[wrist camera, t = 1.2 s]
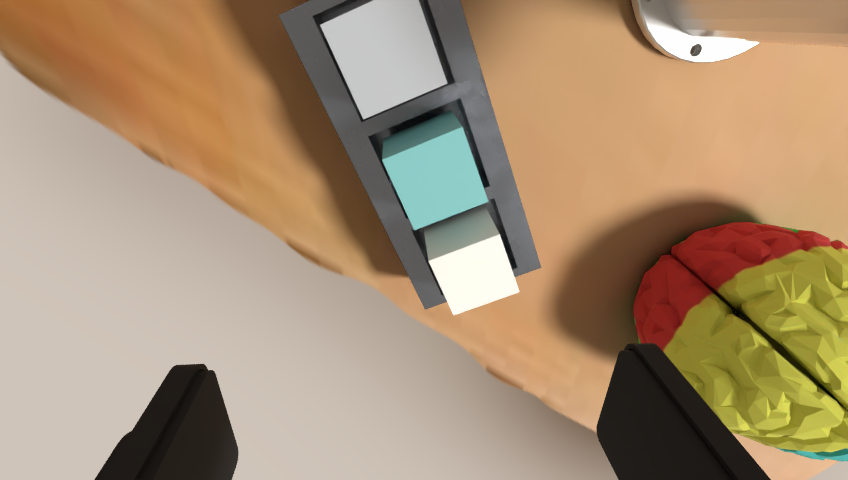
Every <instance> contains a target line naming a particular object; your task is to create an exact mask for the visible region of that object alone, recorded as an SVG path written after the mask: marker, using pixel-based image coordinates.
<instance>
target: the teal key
mask: <svg viewBox="0 0 848 480" xmlns="http://www.w3.org/2000/svg"><path fill="white" fill-rule="evenodd" d="M382 161H383V163H384V165H385V168H386V170H387V172H388V174H389V176H390V178H391V181H392V183H393V185H394V187H395V189H396V191H397V194H398V196H399V198H400V200H401V202H402V205H403V207H404V209H405V211H406V213H407V215H408V218H409V220H410V222H411V224H412V226H413V228H414V230H417V229H419V228H422V227H424V226H427V225H430V224H432V223H435V222H437V221H440V220H442V219H445V218H448V217H450V216H453V215H455V214H458V213H461V212H463V211H466V210H468V209H471V208H474V207H476V206H479V205H481V204H484V203H486V202H488V199H487V196H486V193H485V190H484V187H483V184H482V182H481V179H480V176H479V173H478V170H477V167H476V164H475V161H474V158H473V156H472V153H471V150H470V147H469V144H468V141H467V138H466V135H465V132H464V130H463V127H462V125H461V124H460V122H459V121H458V119H457V118H456V116H455V115H454V113H453V112H452V111H448V112H446V113H443V114H441V115H439V116H436V117H434V118H431V119H429V120H427V121H424V122H422V123H419V124H417V125H415V126H412V127H410V128H407V129H405V130H403V131H400V132H398V133H396V134H393V135H391V136H388V137H386V138H384V139H383V153H382Z"/></svg>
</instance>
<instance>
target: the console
mask: <svg viewBox="0 0 848 480" xmlns="http://www.w3.org/2000/svg"><path fill="white" fill-rule="evenodd" d="M371 1H373V0H310V1H308V2H305V3H303V4H301V5H299V6H297V7H295V8H293V9H291V10H288V11H286V12H284V13H282V14H280V15H279V17H280V19H281V21H282V23H283V25H284V27H285V29H286V31H287V33H288V35H289V37H290V39H291V41H292V43H293V45H294V47H295V49H296V51H297V53H298V55H299V57H300V59H301V61H302V63H303V65H304V67H305V69H306V71H307V73H308V75H309V77H310V79H311V81H312V83H313V85H314V87H315V89H316V92H317V94H318V96H319V98H320V100H321V102H322V104H323V106H324V108H325V110H326V112H327V114H328V116H329V118H330V120H331V122H332V124H333V126H334V128H335V130H336V132H337V134H338V136H339V138H340V140H341V142H342V144H343V146H344V148H345V150H346V152H347V154H348V156H349V158H350V160H351V162H352V164H353V166H354V168H355V170H356V172H357V174H358V176H359V178H360V180H361V182H362V184H363V186H364V188H365V190H366V192H367V194H368V196H369V198H370V200H371V202H372V204H373V206H374V208H375V210H376V212H377V214H378V216H379V218H380V220H381V222H382V224H383V226H384V228H385V230H386V232H387V234H388V236H389V238H390V240H391V242H392V244H393V246H394V248H395V250H396V252H397V254H398V256H399V258H400V260H401V262H402V264H403V266H404V268H405V270H406V272H407V274H408V276H409V278H410V280H411V282H412V284H413V286H414V288H415V290H416V292H417V294H418V296H419V298H420V300H421V302H422V304H423V306H424V308H425V309H428V308H431V307H434V306H436V305H439V304H442V303H445V302H447V300H446V298H445V296H444V294H443V291H442V289H441V287H440V285H439V283H438V281H437V278H436V276H435V274H434V272H433V270H432V268H431V265H430V263H429V261H428V254H427V248H426V242H425V235H424V229H423V228H425V227H427V226H430V225H432V224H435V223H438V222H440V221H443V220H445V219H448V218H450V217H453V216H456V215H458V214H461V213H463V212H466V211H469V210H471V209H474V208H476V207H479V206H482V205H484V204H485V206H486V208H487V210H488V212H489V214H490V216H491V218H492V220H493V222H494V224H495V226H496V228H497V230H498V232H499V234H500V237H501V239H502V242H503V245H504V248H505V251H506V254H507V257H508V260H509V263H510V265H511V268H512V271H513V274H514V277H517V276H519V275H522V274H525V273H528V272H530V271H533V270H536V269H539V268H541V265H540V262H539V259H538V255H537V252H536V249H535V246H534V242H533V239H532V236H531V232H530V229H529V226H528V223H527V219H526V216H525V213H524V209H523V206H522V203H521V199H520V196H519V193H518V190H517V186H516V183H515V180H514V176H513V173H512V170H511V167H510V163H509V160H508V157H507V153H506V150H505V147H504V143H503V140H502V137H501V134H500V130H499V127H498V124H497V120H496V117H495V114H494V111H493V107H492V104H491V101H490V97H489V94H488V91H487V87H486V84H485V81H484V78H483V74H482V71H481V68H480V64H479V61H478V58H477V55H476V51H475V48H474V45H473V41H472V38H471V35H470V31H469V28H468V25H467V22H466V18H465V15H464V12H463V8H462V5H461V2H460V0H419V2H420V5H421V8H422V11H423V14H424V17H425V20H426V23H427V26H428V28H429V31H430V34H431V37H432V40H433V43H434V46H435V49H436V52H437V54H438V57H439V60H440V63H441V66H442V69H443V72H444V75H445V78H446V80H447V83H448V84H445V85H443V86H441V87H438V88H436V89H433V90H431V91H429V92H426V93H424V94H422V95H419V96H417V97H415V98H412V99H410V100H408V101H405V102H403V103H401V104H398V105H396V106H394V107H391V108H389V109H387V110H384V111H382V112H380V113H377V114H375V115H373V116H370V117H368V118H366V119H363V117H362V115H361V113H360V111H359V109H358V107H357V104H356V102H355V100H354V98H353V96H352V94H351V91H350V89H349V87H348V85H347V83H346V80H345V78H344V76H343V74H342V72H341V70H340V67H339V65H338V63H337V61H336V59H335V57H334V54H333V52H332V50H331V48H330V46H329V43H328V41H327V39H326V37H325V35H324V33H323V30H322V28H321V26H320V25H321V24H323V23H325V22H327V21H330V20H332V19H334V18H336V17H338V16H340V15H343V14H345V13H347V12H349V11H351V10H353V9H356V8H358V7H360V6H362V5H364V4H366V3H369V2H371ZM448 111H452V112H453V113H454V115H455V116H456V118H457V119H458V121H459V122H460V124H461V125H462V127H463V130H464V132H465V135H466V138H467V141H468V144H469V147H470V150H471V153H472V156H473V158H474V161H475V164H476V167H477V170H478V173H479V176H480V179H481V182H482V184H483V187H484V190H485V193H486V196H487V199H488V202H486V203H484V204H481V205H479V206H476V207H474V208H471V209H468V210H466V211H463V212H461V213H458V214H455V215H453V216H450V217H448V218H445V219H442V220H440V221H437V222H435V223H432V224H430V225H427V226H424V227H422V228H419V229H417V230H414V228H413V226H412V224H411V222H410V220H409V218H408V215H407V213H406V211H405V209H404V207H403V205H402V202H401V200H400V198H399V196H398V194H397V191H396V189H395V187H394V185H393V183H392V181H391V178H390V176H389V174H388V172H387V170H386V168H385V165H384V163H383V161H382V153H383V139H384V138H386V137H388V136H391V135H393V134H396V133H398V132H400V131H403V130H405V129H407V128H410V127H412V126H415V125H417V124H419V123H422V122H424V121H427V120H429V119H431V118H434V117H436V116H439V115H441V114H443V113H446V112H448Z"/></svg>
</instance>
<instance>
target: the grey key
mask: <svg viewBox="0 0 848 480" xmlns="http://www.w3.org/2000/svg"><path fill="white" fill-rule="evenodd" d="M320 26H321V28H322V30H323V33H324V35H325V37H326V39H327V41H328V43H329V46H330V48H331V50H332V52H333V54H334V57H335V59H336V61H337V63H338V65H339V67H340V70H341V72H342V74H343V76H344V78H345V80H346V83H347V85H348V87H349V89H350V91H351V94H352V96H353V98H354V100H355V102H356V104H357V107H358V109H359V111H360V113H361V115H362V117H363V119H366V118H368V117H370V116H373V115H375V114H377V113H380V112H382V111H384V110H387V109H389V108H391V107H394V106H396V105H398V104H401V103H403V102H405V101H408V100H410V99H412V98H415V97H417V96H419V95H422V94H424V93H426V92H429V91H431V90H433V89H436V88H438V87H441V86H443V85H445V84H448V83H447V80H446V78H445V75H444V72H443V69H442V66H441V63H440V60H439V57H438V54H437V52H436V49H435V46H434V43H433V40H432V37H431V34H430V31H429V28H428V26H427V23H426V20H425V17H424V14H423V11H422V8H421V5H420V2H419V0H373V1H371V2H369V3H366V4H364V5H362V6H360V7H358V8H356V9H353V10H351V11H349V12H347V13H345V14H343V15H340V16H338V17H336V18H334V19H332V20H330V21H327V22H325V23H323V24H321V25H320Z"/></svg>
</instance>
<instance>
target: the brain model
mask: <svg viewBox="0 0 848 480" xmlns="http://www.w3.org/2000/svg"><path fill="white" fill-rule="evenodd" d="M671 254H672V256H671V255H661V257H660V258H659V260H658V261H657V262H656V264H655V265H654V266H653V267H652V268H651V269H649V270H648V271H647V272H646V273H645V274H644V276H643V278H642V281H641V284H640V287H639V290H638V292H637V295H636V298H635V301H634V311H633V313H634V323H635V326H636V329H637V335H638V343H639V344H640V343H654V344H656V345H657V346H659V347H660V348H661V350H662V351H663V352H664V353H665V354H666V356H667V357H668V358H669V359H670V360H671V362H672V363H673V364H674V365H675V366H676V367H677V369H678V370H679V371H680V372H681V373H682V375H683V376H684V377H685V378H686V379H687V381H688V382H689V383H690V384H691V385H692V387H693V388H694V389H695V390H696V391H697V392H698V394H699V395H700V396H701V397H702V398H703V400H704V401H705V402H706V403H707V404H708V406H709V407H710V408H711V409H712V410H713V411H714V413H715V414H716V415H717V416H718V417H719V419H720V420H721V421H722V422H723V423H724V425H725V426H726V427H727V428H728V429H729V431H730V432H732V433H736V434H740V435H742V436H745V437H747V438H750V439H752V440H755V441H757V442H759V443H762V444H764V445H767V446H771V447H775V448H777V449H780V450H782V451H785V452H792V453H795V454H798V455H801V456H804V457H808V458H811V459H819V460H824V459H831V460H837V461H848V247H847V246H846V245H845V244H844V243H842V242H841V241H839V240H836V241H832V242H830V239H829V238H827V237H825V236H823V235H820V234H818V233H816V232H813V231H803V230H795V229H790V228H785V227H779V226H773V225H767V224H761V223H753V222H736V223H729V224H725V225H721V226H716V227H712V228H708V229H704V230H700V231H696V232H694V233H693V234H692V235H690V236H689V237H688V238H687V239H686V240H685V241H682V242H680V243H678V244H676V245H674V246H672V251H671ZM708 286H709V287H710V288H711V289H712V290H714V291H715V292H716V293H717V294H719V295H720V296H721V297H722V298H723V299H724V300H726V301H727V302H728V303H729V304H730V305H731V306H733V307H734V308H736V309H737V310H738V311H739V312H741V313H742V314H743V315H744V316H745V318H744V320H742V319H740V318H738V317H737V316H735V315H734V313H732V312H733V311H732V309H731V308H730V307H729V306H728V305H727V304H726V303H725V302H724V301H722V300H721V299H720V298H719V297H718V296H717V295H716V294H715V293H714V292H713V291H712V290H711V289H710V288H709V287H708Z"/></svg>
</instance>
